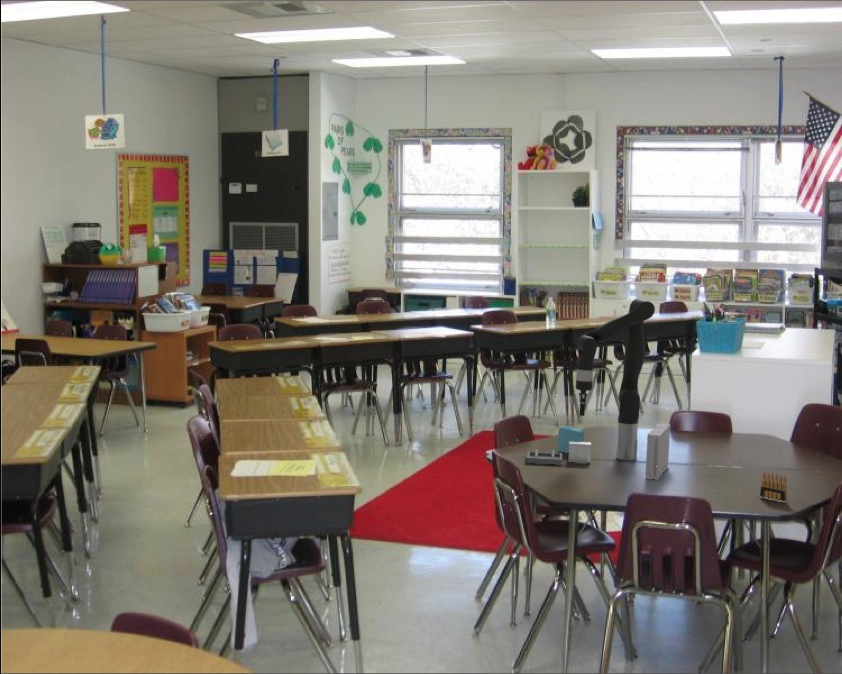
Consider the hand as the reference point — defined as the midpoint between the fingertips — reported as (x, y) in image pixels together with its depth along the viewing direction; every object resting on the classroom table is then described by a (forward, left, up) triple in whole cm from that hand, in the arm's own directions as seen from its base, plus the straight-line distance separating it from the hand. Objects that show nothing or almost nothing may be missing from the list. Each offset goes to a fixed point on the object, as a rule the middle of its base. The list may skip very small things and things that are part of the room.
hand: (581, 413), depth 516 cm
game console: (-34, +14, -23) cm, 43 cm away
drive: (0, +1, -23) cm, 23 cm away
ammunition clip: (-78, +51, -23) cm, 96 cm away
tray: (+16, +3, -22) cm, 28 cm away
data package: (+4, -16, -23) cm, 28 cm away
